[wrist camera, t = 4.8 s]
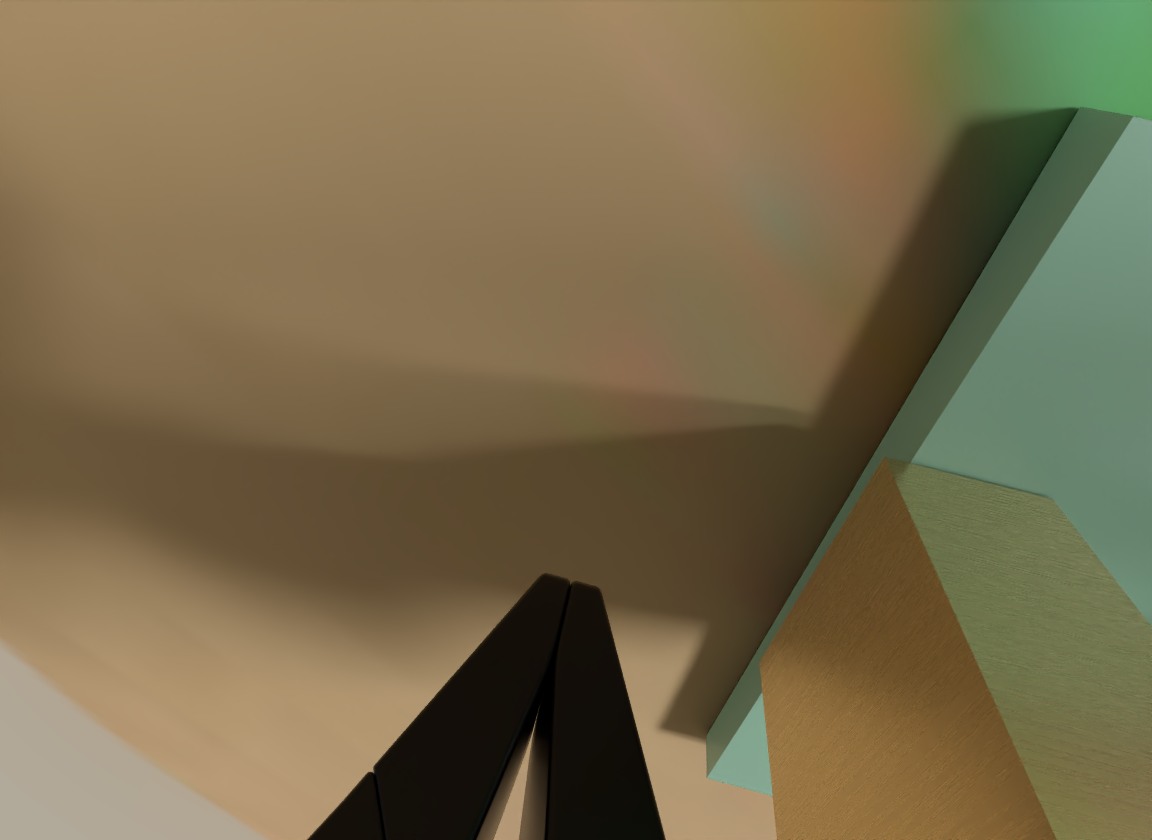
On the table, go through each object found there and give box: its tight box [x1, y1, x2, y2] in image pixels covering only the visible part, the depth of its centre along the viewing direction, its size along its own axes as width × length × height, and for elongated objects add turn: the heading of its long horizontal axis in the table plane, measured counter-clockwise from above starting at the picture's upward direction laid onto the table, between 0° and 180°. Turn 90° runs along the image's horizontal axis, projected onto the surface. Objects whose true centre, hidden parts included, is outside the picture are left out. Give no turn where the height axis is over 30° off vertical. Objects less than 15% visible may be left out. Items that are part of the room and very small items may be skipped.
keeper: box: [759, 457, 1152, 840], centre depth 7 cm, size 5×5×6 cm
